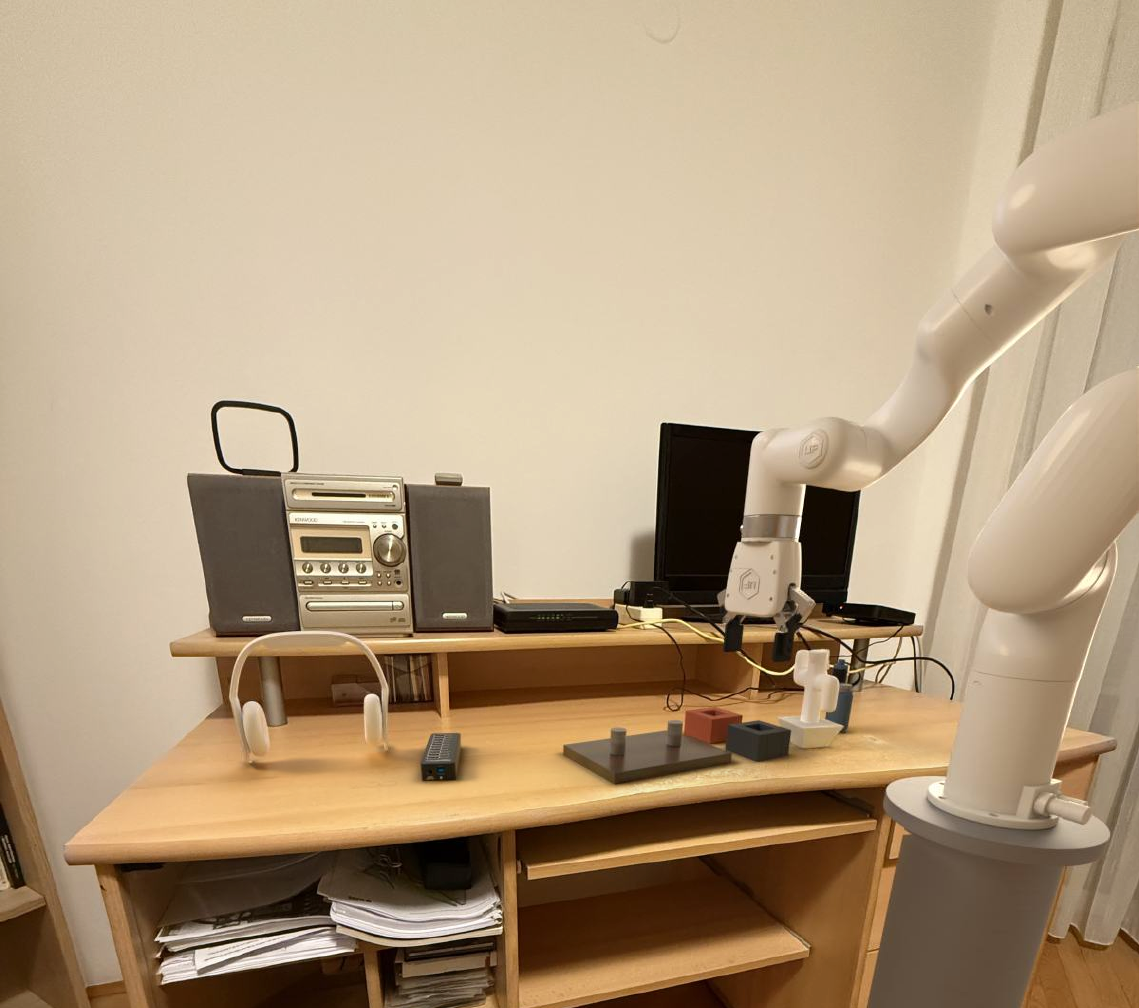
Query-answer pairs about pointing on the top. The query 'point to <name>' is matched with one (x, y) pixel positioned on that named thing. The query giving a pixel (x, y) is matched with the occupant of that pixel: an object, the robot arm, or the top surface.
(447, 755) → the multiport hub
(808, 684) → the figurine
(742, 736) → the dark grey hollow block
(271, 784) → the top surface
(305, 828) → the top surface
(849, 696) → the vaping device
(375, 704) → the headset
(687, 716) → the red square holed block
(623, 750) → the pegboard
